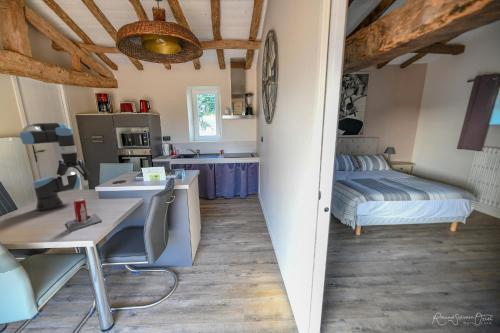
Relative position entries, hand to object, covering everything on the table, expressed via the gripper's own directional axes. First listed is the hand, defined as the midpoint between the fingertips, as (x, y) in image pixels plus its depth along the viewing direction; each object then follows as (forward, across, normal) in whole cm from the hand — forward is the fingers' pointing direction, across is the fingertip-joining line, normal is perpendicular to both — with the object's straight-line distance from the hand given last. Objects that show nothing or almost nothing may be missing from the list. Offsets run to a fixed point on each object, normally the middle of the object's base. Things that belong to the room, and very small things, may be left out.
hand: (76, 185), depth 131 cm
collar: (+25, +3, -3) cm, 25 cm away
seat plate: (+25, +3, -3) cm, 25 cm away
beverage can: (+24, +3, -3) cm, 24 cm away
